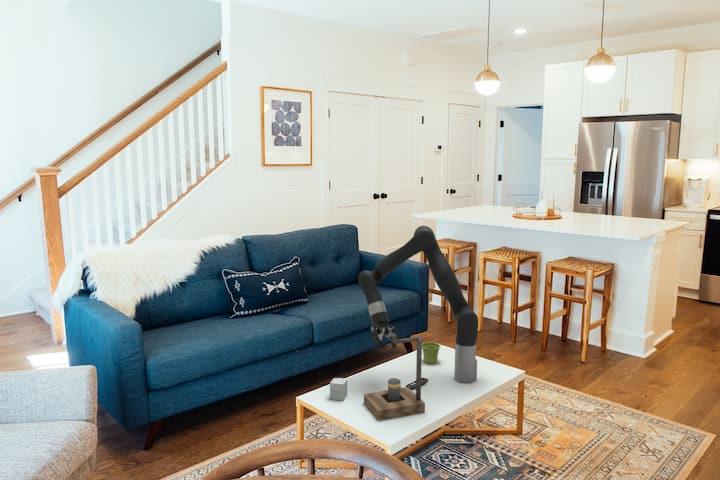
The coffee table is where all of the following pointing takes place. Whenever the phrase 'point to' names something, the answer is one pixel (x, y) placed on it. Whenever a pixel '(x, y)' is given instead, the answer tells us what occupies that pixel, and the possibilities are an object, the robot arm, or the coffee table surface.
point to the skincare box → (338, 389)
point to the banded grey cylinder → (394, 390)
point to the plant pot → (430, 352)
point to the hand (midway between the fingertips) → (388, 349)
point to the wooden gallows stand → (408, 398)
